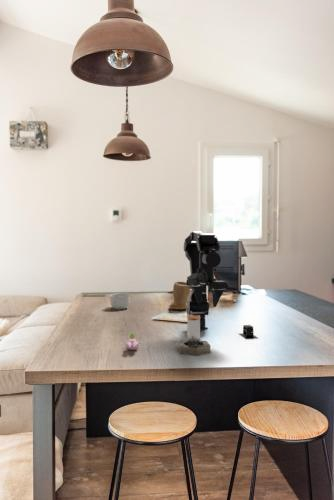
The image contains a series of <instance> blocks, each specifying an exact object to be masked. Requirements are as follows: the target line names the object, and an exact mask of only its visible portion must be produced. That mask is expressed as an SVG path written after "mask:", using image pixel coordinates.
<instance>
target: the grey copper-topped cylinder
mask: <svg viewBox="0 0 334 500" xmlns="http://www.w3.org/2000/svg"><path fill="white" fill-rule="evenodd" d="M186 318H187V319H186V320H187V324H186V325H187V327H186V328H187V340H188V346H200V340H201V330H200V315H198V314H189V315H188V314H187V315H186Z"/></svg>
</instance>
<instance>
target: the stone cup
mask: <svg viewBox="0 0 334 500" xmlns="http://www.w3.org/2000/svg"><path fill="white" fill-rule="evenodd" d="M172 287H173V289H172V295H173V301H171V302H170V304H169V306H168V308H170V309H172V310H185V309H186V310H187V306H188V302H187V301H188V299H189V296H190V293H191V288H189V285H186V281H179V280H178V281H175V282H174V283H173V286H172Z"/></svg>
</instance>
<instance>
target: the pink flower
mask: <svg viewBox="0 0 334 500" xmlns="http://www.w3.org/2000/svg"><path fill="white" fill-rule="evenodd" d="M129 338H130V339H128V340H127V342H123V344H124V346H125V348H127V349H128V350H131V351H133V350H135V349H138V348H139V347H140V344H142V342H141V341H139V342H138V340H137V339H136V338H135V334H134V332H132V333H131V334H130V337H129Z"/></svg>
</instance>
